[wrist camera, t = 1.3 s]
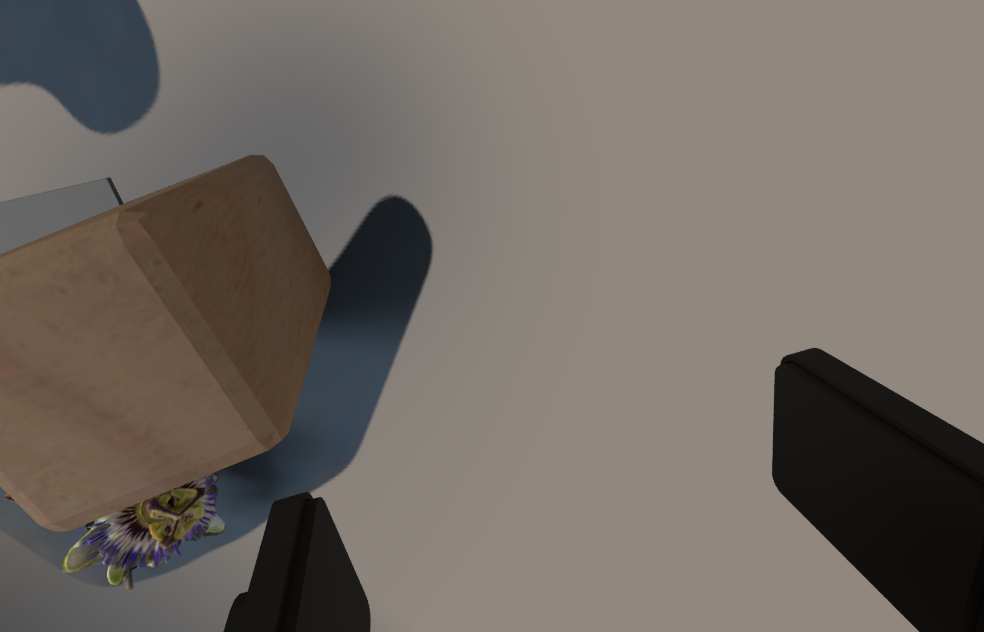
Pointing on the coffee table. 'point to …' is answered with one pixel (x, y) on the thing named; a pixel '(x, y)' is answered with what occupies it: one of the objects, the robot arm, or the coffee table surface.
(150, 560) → the passion flower
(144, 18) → the coffee table surface
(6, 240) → the rubber mat
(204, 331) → the block
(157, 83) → the coffee table surface
